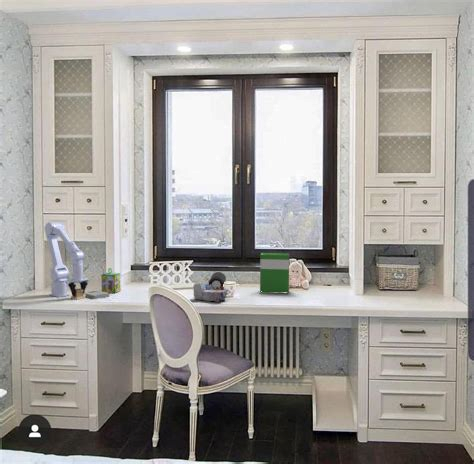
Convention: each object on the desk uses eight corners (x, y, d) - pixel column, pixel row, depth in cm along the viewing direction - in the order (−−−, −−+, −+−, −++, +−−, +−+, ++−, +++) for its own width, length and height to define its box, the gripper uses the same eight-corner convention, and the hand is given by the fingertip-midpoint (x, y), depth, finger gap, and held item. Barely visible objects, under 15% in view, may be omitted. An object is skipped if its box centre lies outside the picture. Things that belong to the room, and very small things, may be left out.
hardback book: (288, 291, 369) (289, 253, 367) (288, 293, 362) (288, 255, 360) (261, 290, 371) (261, 253, 369) (260, 292, 364) (260, 254, 362)
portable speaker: (223, 293, 361) (224, 277, 360) (208, 293, 361) (208, 277, 360) (226, 286, 386) (226, 271, 386) (211, 286, 387) (211, 271, 386)
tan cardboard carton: (71, 298, 341) (70, 289, 341) (78, 297, 345) (78, 288, 344) (77, 300, 336) (77, 290, 336) (85, 298, 340) (85, 289, 339)
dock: (85, 296, 346) (85, 293, 346) (99, 294, 353) (99, 291, 353) (94, 298, 339) (94, 295, 339) (109, 296, 346) (109, 293, 346)
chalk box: (115, 293, 357) (114, 269, 356) (101, 292, 359) (100, 269, 358) (121, 290, 366) (120, 267, 365) (107, 290, 368) (107, 267, 367)
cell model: (198, 279, 347) (230, 281, 341) (198, 297, 347) (230, 299, 342) (190, 282, 334) (224, 285, 328) (190, 301, 335) (223, 304, 329)
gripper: (70, 273, 331) (70, 297, 332) (92, 271, 342) (92, 294, 343) (63, 272, 336) (64, 295, 337) (85, 270, 347) (86, 292, 348)
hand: (78, 295), depth 340 cm, fingers open, 5 cm apart
